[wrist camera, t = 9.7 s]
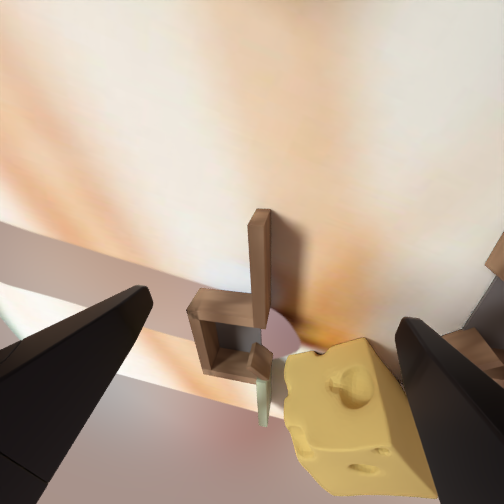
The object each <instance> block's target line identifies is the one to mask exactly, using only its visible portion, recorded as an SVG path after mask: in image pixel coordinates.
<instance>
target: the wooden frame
mask: <svg viewBox="0 0 504 504" xmlns="http://www.w3.org/2000/svg"><path fill="white" fill-rule="evenodd" d="M247 226H248V243H249V259H250V276H251V293H252V294H250V293H241V292H232V291H224V290H215V289H206V288H200V289H199V290H198V292H197V294H196V295H195V297H194V298H193V300H192V302H191V303H190V305H189V306H188V308H187V310H186V311H187V314H188V318H189V322H190V325H191V329H192V333H193V337H194V340H195V344H196V348H197V352H198V355H199V359H200V363H201V367H202V370H203V374H205V375H210V376H216V377H221V378H226V379H231V380H236V381H241V382H246V383H251V384H256V387H257V403H258V419H259V425H260V426H264V427H267V425H268V417H269V410H270V403H271V364H272V358H273V353H272V352H270V351H269V350H268V349H266V348H265V347H264V346H263V345H262V343H261V329H266V324H267V320H268V315H269V310H270V305H271V209H256V211H255V213H254V215H253V216H252V218H251V220H250V222H249V223H248V225H247ZM484 265H485V266H486V267H488V268H489V269H490V270H491V271H492V272H493V273H495V274H496V275H497V276H496V277H495V279H494V280H493V282H492V283H491V285H490V287H489V288H488V290H487V291H486V293H485V294H484V296H483V297H482V299H481V301H480V302H479V304H478V305H477V307H476V308H475V310H474V312H473V313H472V315H471V316H470V318H469V319H468V321H467V322H466V324H465V326H464V327H463V329H461V330H458V331H455V332H452V333H449V334H446V335H443V336H441V337H442V338H444V339H445V340H446V341H447V342H448V343H450V344H451V345H452V346H453V347H454V348H456V349H457V350H458V351H459V352H461V353H462V354H463V355H464V356H465V357H467V358H468V359H469V360H470V361H471V362H473V363H474V364H475V365H476V366H477V367H479V368H480V369H481V370H482V371H483V372H485V373H486V374H487V375H488V376H489V377H491V378H492V379H493V380H494V381H495V382H497V383H498V384H499V385H500V386H502V387H503V388H504V232H503V234H502V236H501V237H500V239H499V241H498V242H497V244H496V246H495V247H494V249H493V251H492V253H491V254H490V256H489V258H488V259H487V261H486V263H485V264H484Z"/></svg>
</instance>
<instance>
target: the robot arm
mask: <svg viewBox="0 0 504 504" xmlns="http://www.w3.org/2000/svg"><path fill="white" fill-rule="evenodd" d="M152 307H153V300H152V297H151V294H150V291H149V289H148V287H146V286H142V285H136V286H133V287H131V288H129V289H127V290H125V291H123V292H121V293H118V294H116V295H114V296H112V297H110V298H108V299H106V300H104V301H102V302H100V303H98V304H95V305H93V306H91V307H89V308H87V309H85V310H83V311H81V312H79V313H77V314H75V315H72V316H70V317H68V318H66V319H64V320H62V321H60V322H58V323H56V324H54V325H52V326H49V327H47V328H45V329H43V330H41V331H39V332H37V333H35V334H33V335H31V336H29V337H26V338H24V339H23V340H20V341H18V342H16V343H14V344H12V345H10V346H8V347H5V348H3V349H1V350H0V504H36V503H37V501H38V500H39V498H40V497H41V495H42V494H43V492H44V490H45V488H46V487H47V485H48V483H49V482H50V480H51V479H52V477H53V475H54V473H55V472H56V470H57V469H58V467H59V465H60V464H61V462H62V461H63V459H64V457H65V456H66V454H67V452H68V451H69V449H70V448H71V446H72V444H73V443H74V441H75V439H76V438H77V436H78V434H79V433H80V431H81V430H82V428H83V427H84V425H85V423H86V422H87V420H88V418H89V417H90V415H91V414H92V412H93V410H94V408H95V407H96V405H97V404H98V402H99V401H100V399H101V397H102V396H103V394H104V392H105V391H106V389H107V387H108V386H109V384H110V383H111V381H112V379H113V378H114V376H115V375H116V373H117V371H118V370H119V368H120V366H121V365H122V363H123V361H124V360H125V358H126V357H127V355H128V353H129V352H130V350H131V348H132V347H133V345H134V343H135V341H136V340H137V338H138V336H139V334H140V332H141V330H142V328H143V326H144V323H145V321H146V319H147V317H148V315H149V313H150V311H151V309H152ZM395 343H396V349H397V354H398V359H399V364H400V369H401V374H402V379H403V384H404V388H405V392H406V396H407V399H408V402H409V406H410V409H411V412H412V415H413V418H414V421H415V425H416V428H417V431H418V434H419V437H420V440H421V444H422V447H423V450H424V453H425V456H426V459H427V463H428V466H429V469H430V472H431V475H432V478H433V481H434V485H435V488H436V491H437V494H438V497H439V500H440V503H441V504H504V388H503V387H502V386H500V385H499V384H498V383H497V382H495V381H494V380H493V379H492V378H491V377H489V376H488V375H487V374H486V373H485V372H483V371H482V370H481V369H480V368H479V367H477V366H476V365H475V364H474V363H473V362H471V361H470V360H469V359H468V358H467V357H465V356H464V355H463V354H462V353H461V352H459V351H458V350H457V349H456V348H454V347H453V346H452V345H451V344H450V343H448V342H447V341H446V340H445V339H444V338H442V337H441V336H440V335H439V334H438V333H436V332H435V331H434V330H433V329H432V328H430V327H429V326H428V325H427V324H426V323H424V322H423V321H422V320H420V319H418V318H413V317H403V318H402V320H401V322H400V324H399V327H398V329H397V331H396V334H395Z"/></svg>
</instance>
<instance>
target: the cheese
mask: <svg viewBox="0 0 504 504" xmlns="http://www.w3.org/2000/svg"><path fill="white" fill-rule="evenodd" d="M284 379H285V382H286V385H287V389H288V396H287V397H286V398H285V400H284V421H285V425H286V427H287V429H288V430H289V432H290V434H291V436H292V440H293V444H294V448H295V452H296V456H297V458H298V460H299V462H300V463H301V465H302V466H303V467H304V468H305V469H306V470H307V471H308V472H309V473H310V474H311V476H312V477H313V478H314V479H315V480H316V481H317V482H318V484H319V485H320V486H321V487H322V488H324V489H325V490H326V491H327V492H329V493H330V494H332V495H334V496H354V495H394V496H410V497H421V498H431V499H437V498H438V494H437V491H436V488H435V485H434V481H433V478H432V475H431V472H430V469H429V466H428V463H427V459H426V456H425V453H424V450H423V447H422V444H421V440H420V437H419V434H418V431H417V428H416V425H415V421H414V418H413V415H412V412H411V409H410V406H409V402H408V399H407V396H406V394H405V392H404V391H403V389H402V387H401V385H400V384H399V382H398V381H397V380H396V378H395V377H394V376H393V374H392V373H391V372H390V371H389V370H388V368H387V367H386V366H385V365H384V364H383V362H382V361H381V360H380V358H379V357H378V356H377V354H376V353H375V351H374V350H373V348H372V347H371V345H370V344H369V343H368V341H367V340H366V338H359V339H355V340H352V341H348V342H345V343H341V344H338V345H335V346H332V347H330V348H329V349H328V350H327V352H326V353H325V354H323V355H318V354H316V353H315V352H314V351H309V352H304V353H300V354H295V355H289V356H288V358H287V360H286V363H285V369H284Z"/></svg>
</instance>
